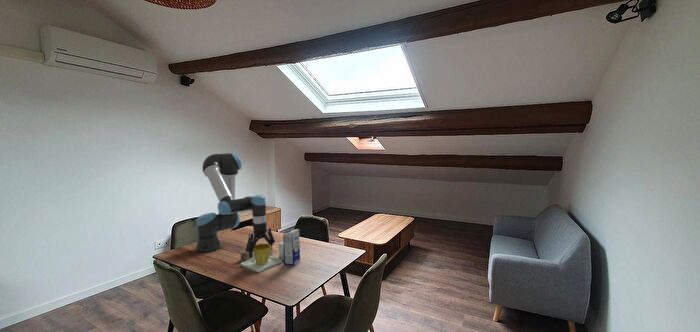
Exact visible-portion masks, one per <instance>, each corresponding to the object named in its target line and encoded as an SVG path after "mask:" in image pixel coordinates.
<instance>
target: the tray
mask: <svg viewBox="0 0 700 332" xmlns="http://www.w3.org/2000/svg"><path fill="white" fill-rule="evenodd" d="M254 260H255V257H254ZM282 263H283V260H281V259H279V257H274V256H269V259H268V262H267V263H266V264H264V265H258V264H256V261H255V263H252V262H251V260H247V261H241V262H240V266H241V267H242V268H246V269H248V270H250V271H253V272H255V273H258V274H259V273H261V272H264V271H267V270H268V269H271V268H273V267H275V266H277V265H279V264H282Z"/></svg>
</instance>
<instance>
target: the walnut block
mask: <svg viewBox="0 0 700 332" xmlns="http://www.w3.org/2000/svg"><path fill="white" fill-rule="evenodd" d="M247 260H250V257H249V252H247V251H246V249H244V250H243V251H242V252H241V251H240V261H241V262H245V261H247Z"/></svg>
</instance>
